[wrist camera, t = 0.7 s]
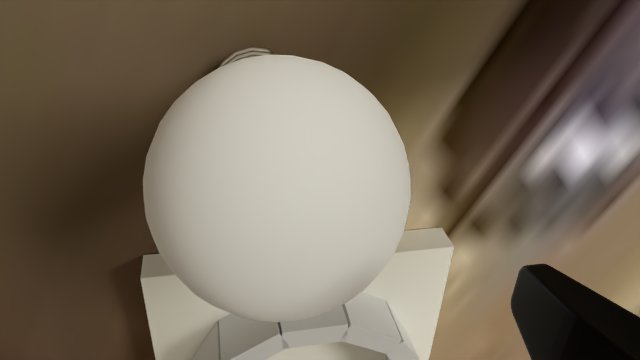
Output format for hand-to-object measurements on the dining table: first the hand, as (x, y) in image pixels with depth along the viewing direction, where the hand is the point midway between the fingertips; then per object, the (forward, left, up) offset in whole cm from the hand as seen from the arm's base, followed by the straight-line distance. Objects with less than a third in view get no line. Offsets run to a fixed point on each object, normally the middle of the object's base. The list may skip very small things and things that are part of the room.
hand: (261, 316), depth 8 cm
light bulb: (-1, +1, -13) cm, 13 cm away
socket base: (-3, +16, -13) cm, 21 cm away
